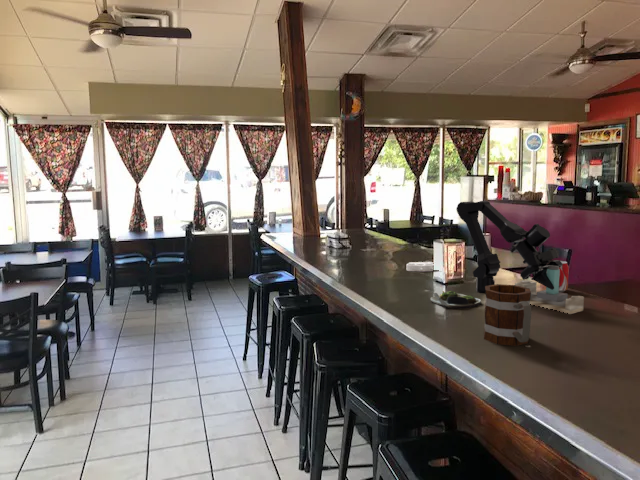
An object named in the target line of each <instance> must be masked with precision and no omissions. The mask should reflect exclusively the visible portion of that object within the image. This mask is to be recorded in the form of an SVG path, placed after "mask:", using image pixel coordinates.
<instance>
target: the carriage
mask: <svg viewBox="0 0 640 480" xmlns="http://www.w3.org/2000/svg"><path fill="white" fill-rule="evenodd" d="M559 273H560V269H559V266H554V265H549V266H548V269H547V277H548V278H549V280H550V281H551V283H552V284H553V286H554V289H553V290H551V289H550V288H548V287H546V286H545V289H544V290H540V291H536V295H537V298H542V299H546V300H551V301H555V302H559V301H566V299H568V296H569V295H568V293H564V292H559Z"/></svg>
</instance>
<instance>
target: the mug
mask: <svg viewBox="0 0 640 480" xmlns="http://www.w3.org/2000/svg"><path fill="white" fill-rule="evenodd" d="M485 291H486V293H485V305H484V328H483V329H484V331H483V340H485V341H487V342H491V343H493V344H496V345H501V346H502V345H503V346H512V347H513V346H514V347H516V346H521V345H526V344H529V343H530V337H531V336H530V335H531V320H532V305H530V297H531V291H530V288H526V287H521V286H517V285H515V284H502V283H501V284H498V283H497V284H495V285H489V286H485Z"/></svg>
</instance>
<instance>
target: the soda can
mask: <svg viewBox="0 0 640 480" xmlns="http://www.w3.org/2000/svg"><path fill="white" fill-rule="evenodd" d="M559 261H560V262H561V263H562V264H563V265H562V266H561V267H560V268H559V269H560V273H559V286H560V287H559V292H561V293H564V292H565V291H568V287H569V269H570V266H569V264H568V261H564V260H559Z"/></svg>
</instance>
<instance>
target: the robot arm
mask: <svg viewBox="0 0 640 480" xmlns="http://www.w3.org/2000/svg"><path fill="white" fill-rule="evenodd" d="M479 212H480V213H482V214H483V216H485V217H486V218H487V219H488V220H489V221H490V222H491V223H493V224H494V226H495V227H497V229H498V230H499V231H500V235H501V236H502V237H503V239H504V240H505V242H507V243H509V244H511V243H513V245H511V251H510V253H517V252H518V254H519V255H520V257H521V258H522V259H523V261H522V263H523V265H527V266H526V267H525V268H524V269H523V270H522V271H520V277H521V278H522V281H526V280H528V279H529V276H530V275H532V277H531V278H530V281H533V282H537V283H538V284H540V285H542V286H544V287H545V288H546V287H548V288H550V289H551V290H553V289H554V286H553V284H552V283H551V281H550V280H549V278H548V277H547V269H548V266H549V265H554V266H559V268H560V267H561V266H562V265H563V264H562V263H561V262H560V261H561V260H558V259H559V258H560V257H559V256H560V251H559V250H558V249H556V247H551V248H549V249H548V250H546V251H544V252H542V251H538V250H537V247H540V246H542V245H543V244H544V243H545V242H546V241H547V240H548V239H549V238H550V237H551V234H550V233H551V232H550V231H549V230H548V229H546V228H544V227H543V226H541V225H540V224H539V223H535V224H533V226H531V228H530V229H529V230H525V229H524V228H523V227H522V226H520V225H519V224H517V223H515V222H512V221H510V220H508V219H507V218H506V217H505V216H504V215H503V214H502V213H501V212H499V210H497V208H496V207H494V206H493V205H492V204H491V203H490V201H488V200H479V201H475V202H474V201H472V200H471V201H461V202H459V203H458V204H457V207H456V213H457V214H458V216H459V218H460V219H461V220H462V221H463V222H464V223H465V224H466V227H467V229H468V232H469V235H470V238H471V240H472V242H473V245H474V248H475V251H476V253H477V260H476V261H477V262H476V263H477V267H476V268H475V269H474V270H473V271H472V274H473V277H474V278H476V283H475V284H476V287H475V290H476V293H485V294H486V291H485V286H489V285H496V284H495V283H496V282H495V280H494V277H496V276H497V275H498V272H499V271H500V270H501V269H500V268H501V261H500V259H499V256H498V254H497V253H493V252H491V251H490V247H489V246H488V242H487V240H486V237H485V235H484V232H483V230H482V226H481V225H480V222H479ZM514 243H516V244H514ZM553 259H555V260H553ZM559 287H560V286H559Z"/></svg>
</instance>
